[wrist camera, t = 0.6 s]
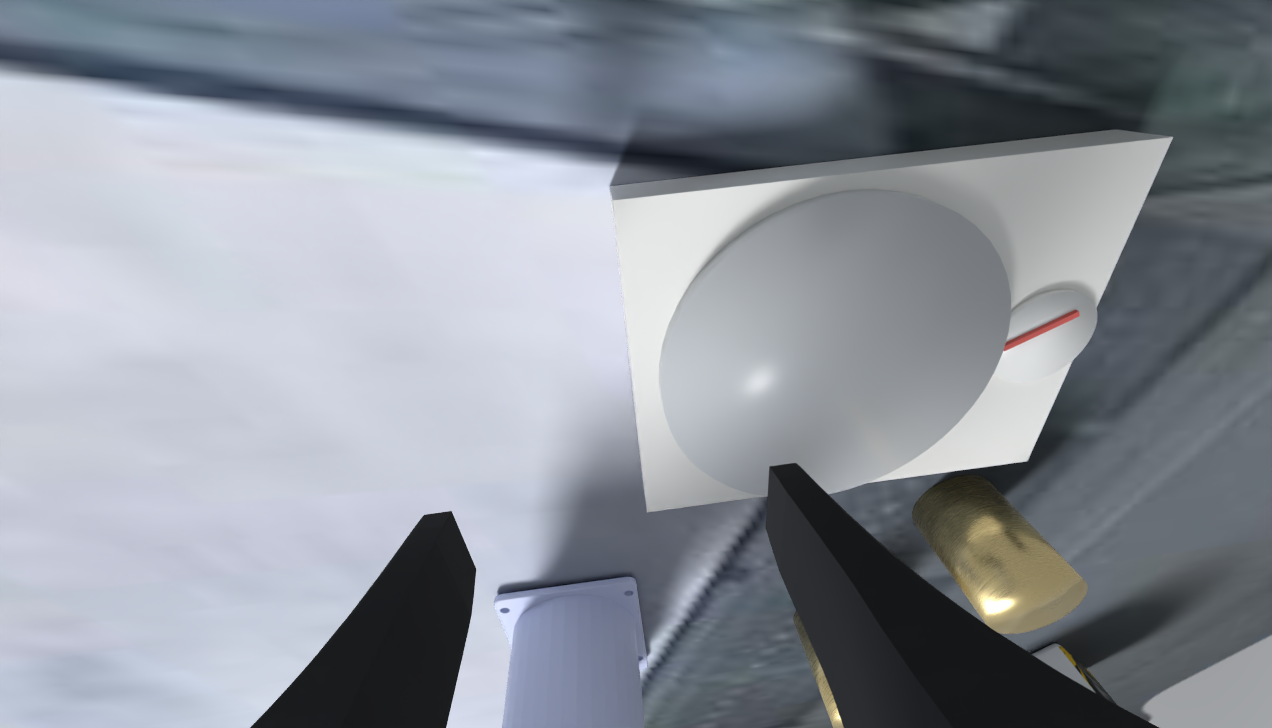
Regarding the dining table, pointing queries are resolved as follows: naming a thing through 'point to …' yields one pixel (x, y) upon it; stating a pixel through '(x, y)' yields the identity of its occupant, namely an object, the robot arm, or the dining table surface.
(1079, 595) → the cylinder
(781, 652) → the dining table surface
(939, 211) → the kitchen scale
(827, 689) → the cylinder
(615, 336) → the dining table surface
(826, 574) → the robot arm
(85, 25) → the dining table surface
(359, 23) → the dining table surface
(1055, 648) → the medicine bottle
